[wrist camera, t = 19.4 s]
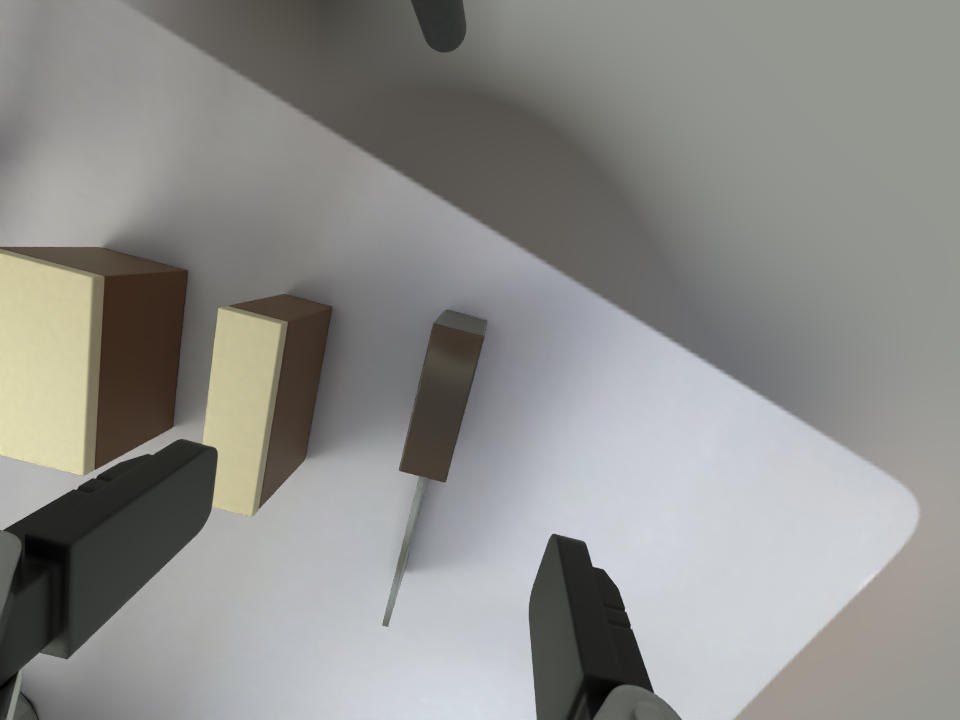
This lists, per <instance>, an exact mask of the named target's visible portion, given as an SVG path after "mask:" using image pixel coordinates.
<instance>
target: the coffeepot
mask: <svg viewBox="0 0 960 720" xmlns="http://www.w3.org/2000/svg"><path fill="white" fill-rule="evenodd" d="M13 720H38V719H37V716H36V714H35V712H34V710H33V708H32V707H31V705H30V704H29V702H28V701H27V700H26V699H25V698H24V696H23V695H22V694H21V693H19V695H18V699H17V703H16V707H15V711H14V716H13Z"/></svg>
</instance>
